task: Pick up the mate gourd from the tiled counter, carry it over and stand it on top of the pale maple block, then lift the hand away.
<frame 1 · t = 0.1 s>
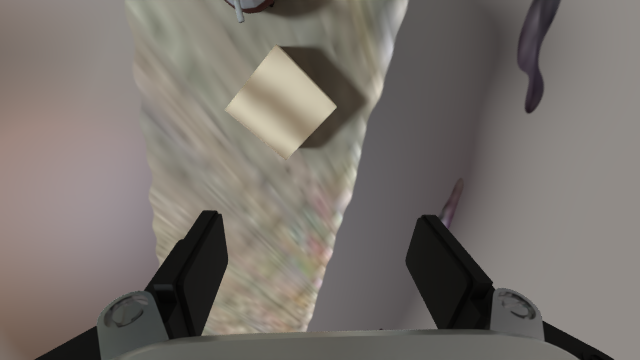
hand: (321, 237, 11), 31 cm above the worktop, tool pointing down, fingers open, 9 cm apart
maple block: (284, 101, 38), on the worktop
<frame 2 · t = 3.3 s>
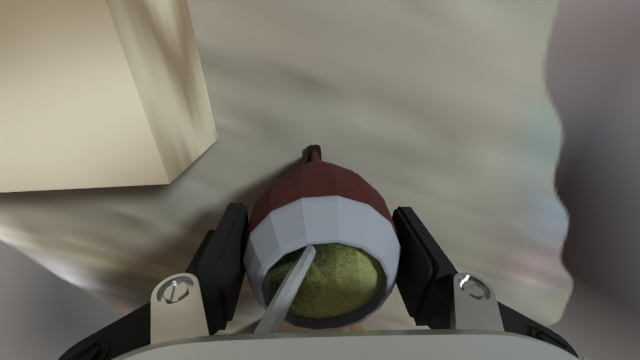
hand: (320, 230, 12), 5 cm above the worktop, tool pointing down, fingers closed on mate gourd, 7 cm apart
maple block: (81, 34, 12), on the worktop
block: (306, 322, 23), on the worktop
mate gourd: (309, 184, 16), on the worktop, touching gripper
when the fingers open (12 cm above the worktop, at t = 9.1 s): mate gourd drops 2 cm, resting on maple block.
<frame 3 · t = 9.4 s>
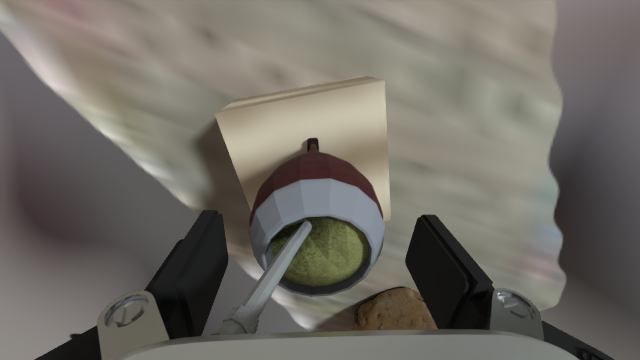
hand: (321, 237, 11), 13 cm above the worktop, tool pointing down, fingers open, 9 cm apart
maple block: (311, 147, 23), on the worktop, touching mate gourd
block: (387, 304, 34), on the worktop
mate gourd: (308, 174, 18), point 5 cm above the worktop, touching maple block
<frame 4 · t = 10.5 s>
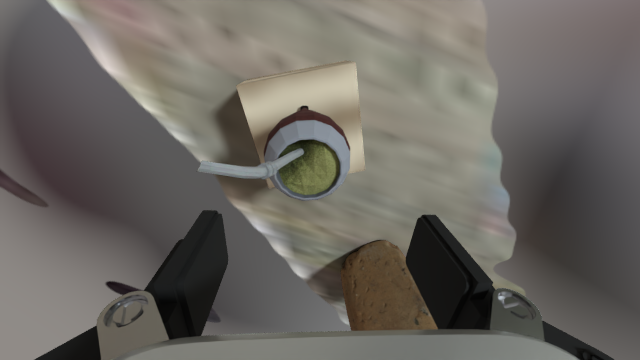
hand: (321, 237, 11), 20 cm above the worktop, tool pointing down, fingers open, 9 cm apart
maple block: (306, 118, 29), on the worktop
block: (369, 256, 41), on the worktop
mate gourd: (301, 134, 24), point 5 cm above the worktop
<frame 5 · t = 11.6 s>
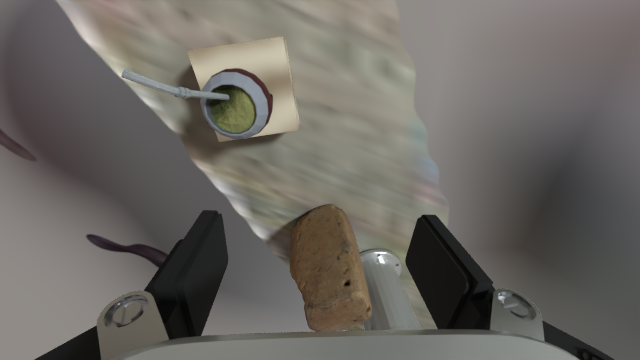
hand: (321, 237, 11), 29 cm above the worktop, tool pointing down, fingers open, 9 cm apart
maple block: (255, 87, 35), on the worktop, touching mate gourd
block: (321, 220, 47), on the worktop
mate gourd: (244, 95, 30), point 5 cm above the worktop, touching maple block
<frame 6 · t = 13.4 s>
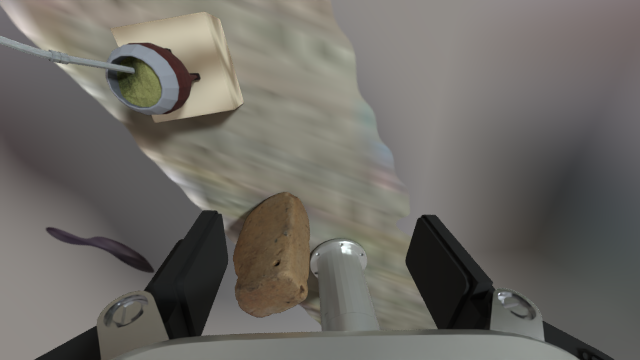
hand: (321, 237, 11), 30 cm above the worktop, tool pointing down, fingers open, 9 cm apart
maple block: (196, 70, 35), on the worktop, touching mate gourd
block: (278, 209, 47), on the worktop
mate gourd: (171, 74, 30), point 5 cm above the worktop, touching maple block
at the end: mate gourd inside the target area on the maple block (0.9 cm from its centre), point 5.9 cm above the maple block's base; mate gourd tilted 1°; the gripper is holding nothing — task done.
